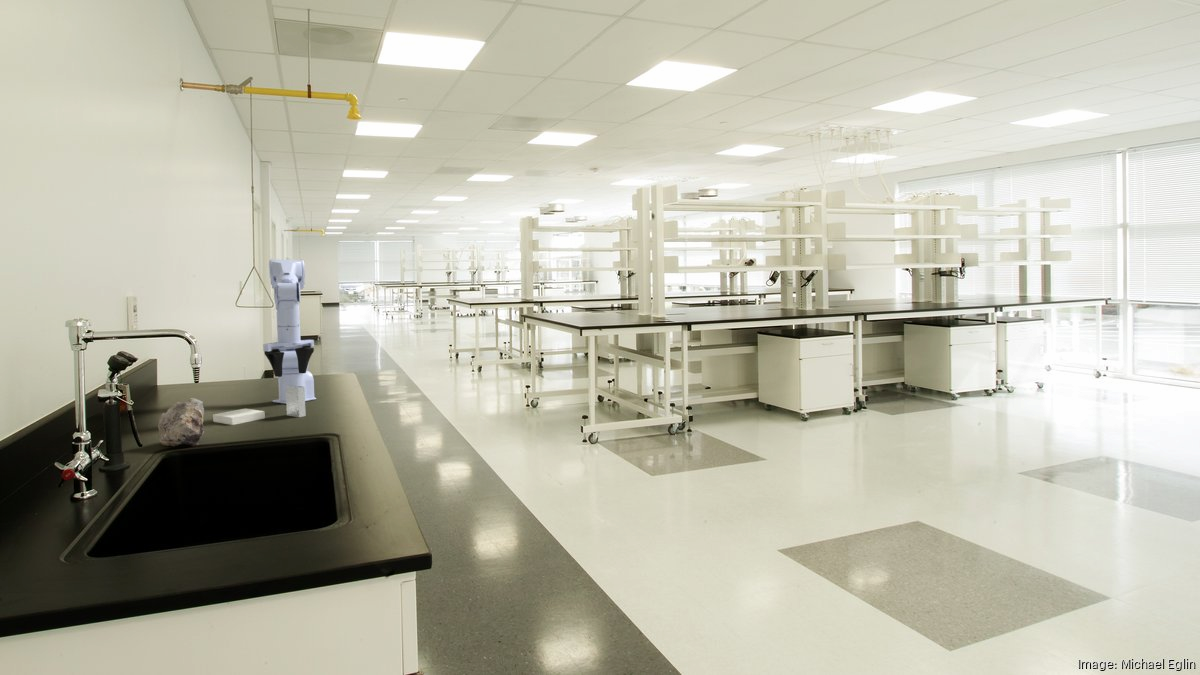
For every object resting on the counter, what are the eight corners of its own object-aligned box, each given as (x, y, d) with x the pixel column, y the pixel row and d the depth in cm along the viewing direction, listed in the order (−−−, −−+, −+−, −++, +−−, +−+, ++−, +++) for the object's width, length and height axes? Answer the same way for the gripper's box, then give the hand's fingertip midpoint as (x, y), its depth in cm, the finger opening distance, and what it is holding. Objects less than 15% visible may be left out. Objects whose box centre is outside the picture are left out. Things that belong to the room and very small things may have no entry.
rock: (155, 460, 143) (159, 431, 137) (156, 419, 150) (160, 390, 144) (203, 458, 148) (209, 430, 143) (202, 419, 155) (208, 391, 150)
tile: (245, 408, 176) (212, 414, 168) (264, 411, 173) (232, 417, 165) (246, 416, 176) (213, 423, 168) (265, 419, 173) (232, 426, 165)
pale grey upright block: (293, 414, 178) (292, 385, 177) (305, 415, 176) (304, 386, 175) (286, 415, 176) (285, 386, 176) (299, 417, 174) (298, 387, 173)
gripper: (274, 328, 171) (276, 379, 172) (320, 324, 184) (322, 372, 185) (257, 327, 174) (259, 377, 175) (303, 324, 187) (305, 370, 188)
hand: (290, 374), depth 180 cm, fingers open, 7 cm apart
